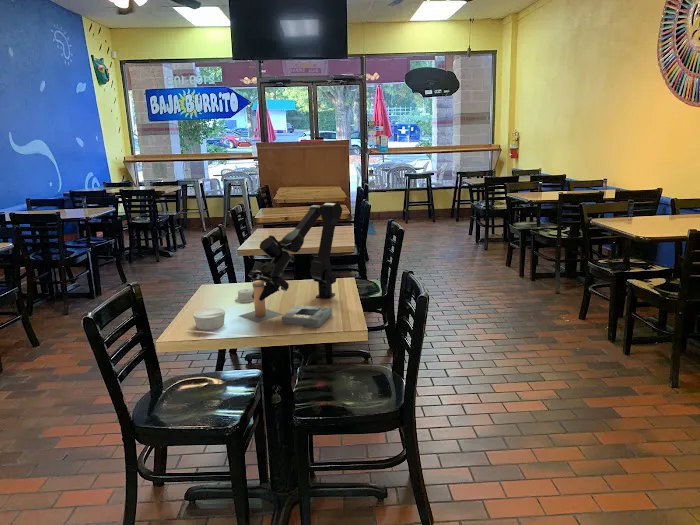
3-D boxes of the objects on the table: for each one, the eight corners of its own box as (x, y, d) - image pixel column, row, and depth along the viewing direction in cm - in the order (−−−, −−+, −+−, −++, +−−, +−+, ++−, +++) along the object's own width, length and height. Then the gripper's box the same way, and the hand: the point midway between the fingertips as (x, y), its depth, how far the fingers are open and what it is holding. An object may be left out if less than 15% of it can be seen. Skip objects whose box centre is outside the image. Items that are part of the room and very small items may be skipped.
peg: (258, 312, 204) (255, 280, 201) (268, 313, 202) (265, 280, 199) (253, 316, 200) (250, 283, 197) (263, 317, 198) (260, 283, 196)
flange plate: (297, 312, 204) (296, 304, 203) (331, 315, 200) (331, 307, 199) (282, 324, 191) (281, 316, 190) (318, 327, 187) (318, 319, 186)
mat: (264, 309, 209) (264, 308, 209) (283, 315, 201) (283, 314, 201) (238, 317, 201) (238, 315, 201) (257, 323, 193) (257, 322, 193)
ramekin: (209, 334, 185) (208, 319, 183) (187, 328, 191) (186, 314, 189) (232, 324, 194) (231, 310, 192) (211, 319, 200) (210, 306, 198)
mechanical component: (253, 304, 217) (263, 297, 226) (252, 294, 216) (263, 287, 225) (231, 303, 219) (242, 296, 229) (230, 293, 218) (241, 286, 228)
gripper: (250, 249, 205) (228, 283, 200) (280, 256, 192) (257, 292, 187) (268, 265, 212) (247, 298, 207) (298, 273, 199) (276, 308, 194)
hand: (256, 299), depth 199 cm, fingers closed on peg, 4 cm apart
